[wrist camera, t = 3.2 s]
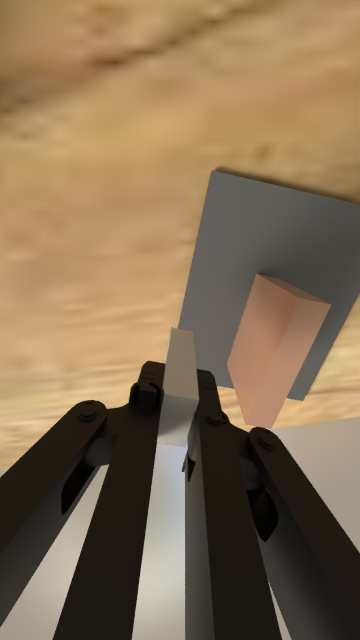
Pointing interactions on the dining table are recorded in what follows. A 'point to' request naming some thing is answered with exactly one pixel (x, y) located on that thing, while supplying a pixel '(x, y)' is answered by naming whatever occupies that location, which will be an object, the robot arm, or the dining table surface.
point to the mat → (268, 265)
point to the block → (272, 346)
